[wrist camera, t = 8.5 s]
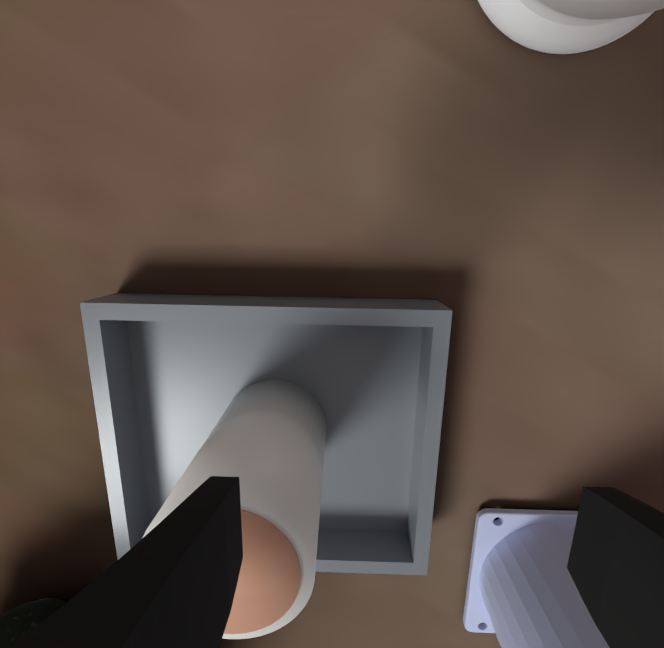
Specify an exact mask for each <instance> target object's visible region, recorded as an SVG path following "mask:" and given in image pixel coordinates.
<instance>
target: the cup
mask: <svg viewBox="0 0 664 648" xmlns="http://www.w3.org/2000/svg"><path fill="white" fill-rule="evenodd" d="M325 442H326V419H325V415H324V412H323V410H322V408H321V406H320V404H319V403H318V402H317V400H316V399H315V398H314V397H313V396H312V395H311V394H310V393H309V392H308V391H307V390H305V389H304V388H302V387H300V386H298V385H296V384H294V383H291V382H288V381H283V380H264V381H259V382H256V383H253V384H251V385H249V386H247V387H246V388H244V389H243V390H241V391H240V392H239V393H238V394H237V395H236V396H235V397H234V399H233V400H232V401H231V403H230V404H229V406H228V407H227V409H226V410H225V412H224V413H223V415H222V416H221V418H220V419H219V421H218V423H217V424H216V426H215V427H214V429H213V430H212V432H211V433H210V435H209V436H208V438H207V439H206V441H205V442H204V444H203V445H202V447H201V448H200V450H199V451H198V453H197V454H196V456H195V457H194V459H193V460H192V462H191V463H190V465H189V466H188V468H187V469H186V471H185V472H184V474H183V475H182V477H181V478H180V480H179V481H178V483H177V484H176V486H175V487H174V489H173V490H172V492H171V493H170V495H169V496H168V498H167V499H166V501H165V502H164V504H163V505H162V507H161V508H160V510H159V512H158V513H157V515H156V516H155V518H154V519H153V521H152V522H151V524H150V525H149V527H148V528H147V530H146V532H145V534H144V536H143V537H145V536H146V535H147V534H148V533H149V532H150V531H151V530H152V529H154V528H155V527H156V526H157V525H158V524H159V523H160V522H161V521H162V520H163V519H164V518H166V517H167V516H168V515H169V514H170V513H171V512H172V511H173V510H174V509H175V508H176V507H177V506H179V505H180V504H181V503H182V502H183V501H184V500H185V499H186V498H187V497H188V496H189V495H190V494H192V493H193V492H194V491H195V490H196V489H197V488H198V487H199V486H200V485H201V484H203V483H204V482H205V481H206V480H207V479H208V478H209V477H210V476H224V477H239V483H240V503H241V524H242V545H243V560H242V564H241V569H240V573H239V578H238V582H237V587H236V591H235V595H234V599H233V604H232V608H231V612H230V615H229V618H228V622H227V625H226V628H225V631H224V634H223V637H222V638H223V639H247V638H254V637H258V636H262V635H265V634H268V633H271V632H273V631H276V630H278V629H280V628H282V627H283V626H285V625H286V624H288V623H289V622H290V621H292V620H293V619H294V618H295V617H296V616H297V615H298V614H299V613H300V612H301V611H302V610H303V608H304V607H305V605H306V604H307V602H308V600H309V598H310V596H311V593H312V590H313V586H314V580H315V569H316V556H317V544H318V531H319V518H320V505H321V493H322V480H323V467H324V454H325Z"/></svg>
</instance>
